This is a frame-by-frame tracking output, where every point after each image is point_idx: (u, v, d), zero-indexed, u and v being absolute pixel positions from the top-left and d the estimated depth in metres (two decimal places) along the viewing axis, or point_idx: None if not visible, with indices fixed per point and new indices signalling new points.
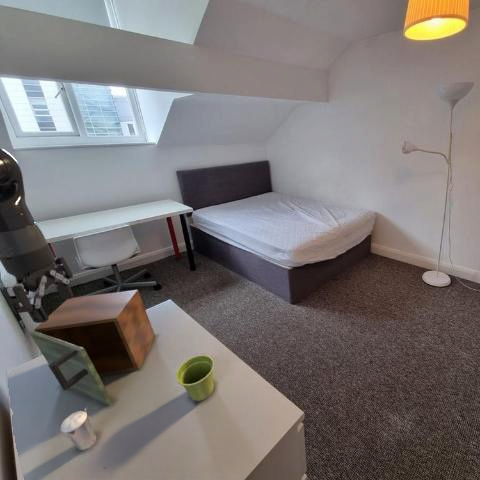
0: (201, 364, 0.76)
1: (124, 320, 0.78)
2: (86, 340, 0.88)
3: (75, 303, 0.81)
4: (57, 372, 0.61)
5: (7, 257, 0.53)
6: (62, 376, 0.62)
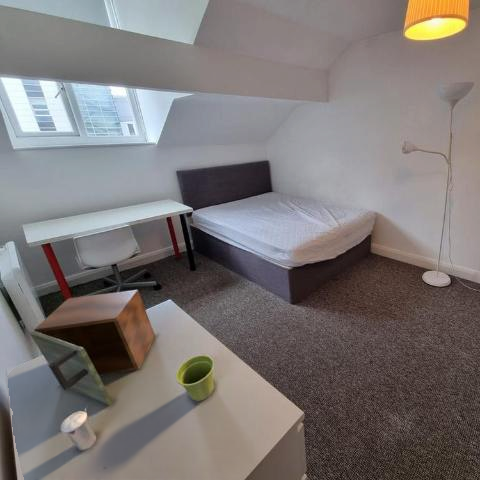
0: (201, 364, 0.76)
1: (124, 320, 0.78)
2: (86, 340, 0.88)
3: (75, 303, 0.81)
4: (57, 372, 0.61)
5: None
6: (62, 376, 0.62)
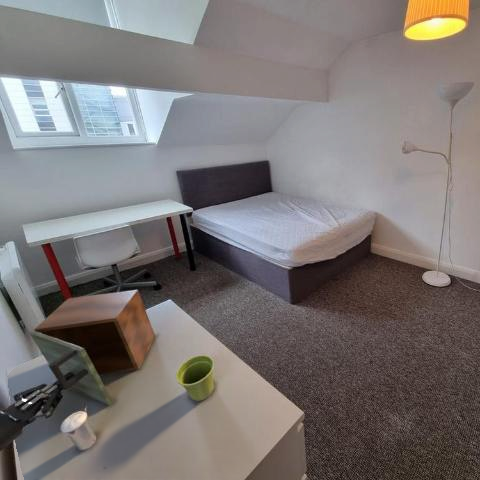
0: (201, 364, 0.76)
1: (124, 320, 0.78)
2: (86, 340, 0.88)
3: (75, 303, 0.81)
4: (57, 372, 0.61)
5: None
6: (62, 376, 0.62)
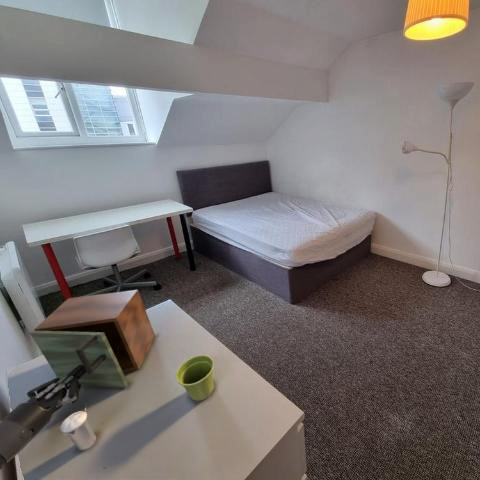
0: (201, 364, 0.76)
1: (124, 320, 0.78)
2: None
3: (75, 303, 0.81)
4: (83, 356, 0.65)
5: (31, 432, 0.58)
6: (87, 360, 0.66)
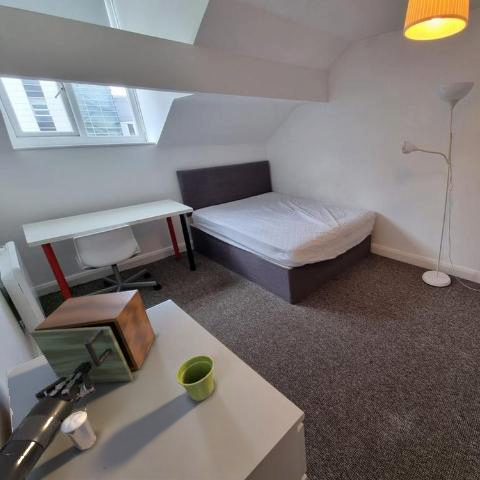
0: (201, 364, 0.76)
1: (124, 320, 0.78)
2: None
3: (75, 303, 0.81)
4: (92, 349, 0.67)
5: (60, 422, 0.60)
6: (95, 353, 0.68)
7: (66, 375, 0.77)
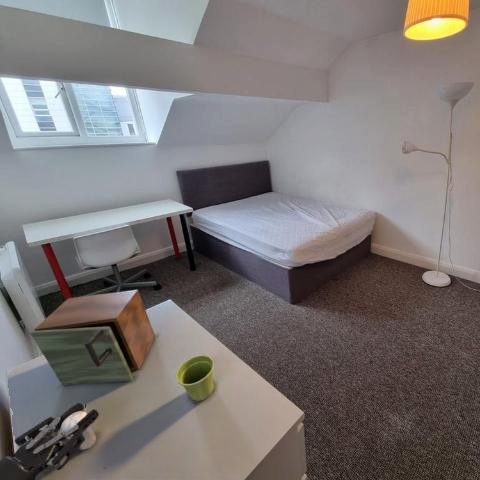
0: (201, 364, 0.76)
1: (124, 320, 0.78)
2: None
3: (75, 303, 0.81)
4: (92, 349, 0.67)
5: None
6: (95, 353, 0.68)
7: (66, 375, 0.77)
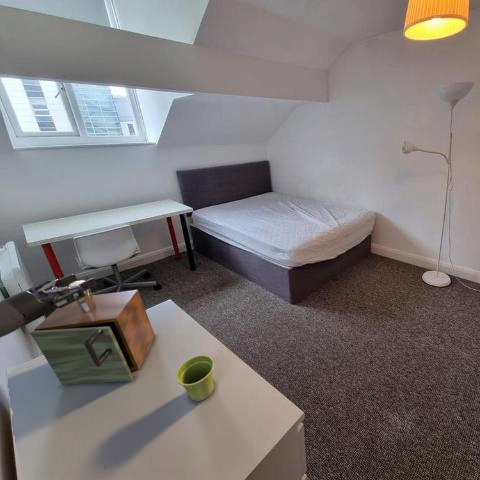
0: (201, 364, 0.76)
1: (124, 320, 0.78)
2: None
3: (75, 303, 0.81)
4: (92, 349, 0.67)
5: (23, 317, 0.62)
6: (95, 353, 0.68)
7: (66, 375, 0.77)
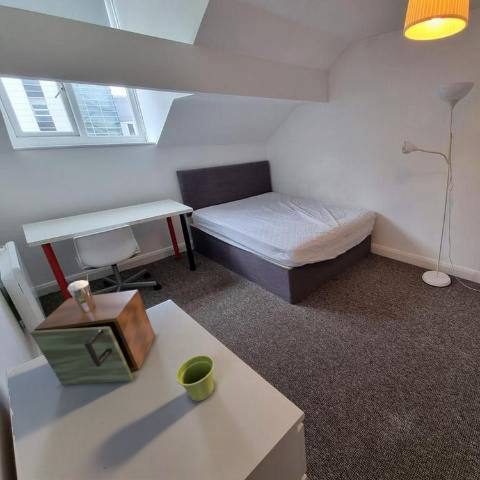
0: (201, 364, 0.76)
1: (124, 320, 0.78)
2: None
3: (75, 303, 0.81)
4: (92, 349, 0.67)
5: None
6: (95, 353, 0.68)
7: (66, 375, 0.77)
